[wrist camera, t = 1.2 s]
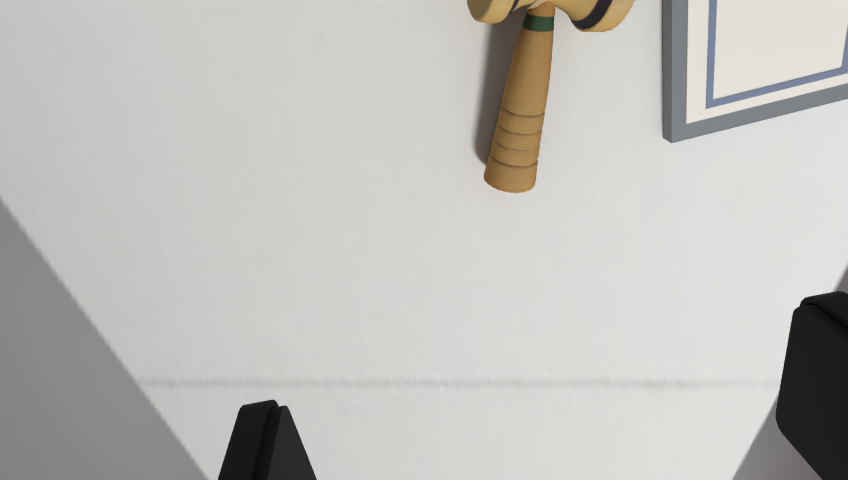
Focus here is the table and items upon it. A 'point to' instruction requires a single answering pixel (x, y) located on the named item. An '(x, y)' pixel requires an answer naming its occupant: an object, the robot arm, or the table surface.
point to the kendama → (533, 80)
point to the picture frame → (749, 61)
